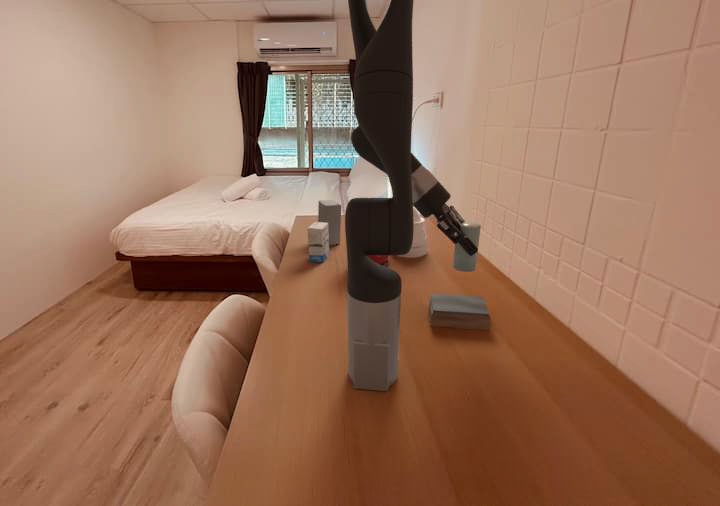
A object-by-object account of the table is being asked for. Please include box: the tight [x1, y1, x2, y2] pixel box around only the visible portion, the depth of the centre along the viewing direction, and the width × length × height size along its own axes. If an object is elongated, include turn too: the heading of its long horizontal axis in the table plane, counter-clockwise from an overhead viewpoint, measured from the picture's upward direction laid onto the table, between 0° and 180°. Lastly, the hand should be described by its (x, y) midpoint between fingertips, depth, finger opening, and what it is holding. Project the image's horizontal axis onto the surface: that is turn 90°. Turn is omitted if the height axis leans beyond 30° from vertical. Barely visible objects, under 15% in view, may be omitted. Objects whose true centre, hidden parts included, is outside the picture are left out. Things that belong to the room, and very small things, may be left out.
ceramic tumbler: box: [452, 221, 482, 273], centre depth 82 cm, size 5×5×10 cm
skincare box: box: [317, 199, 342, 247], centre depth 139 cm, size 8×7×16 cm
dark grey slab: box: [428, 293, 492, 331], centre depth 88 cm, size 9×13×4 cm
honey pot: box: [395, 206, 428, 259], centre depth 130 cm, size 13×13×18 cm
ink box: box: [307, 221, 330, 264], centre depth 124 cm, size 9×5×12 cm, turn 168°
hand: (475, 248), depth 82 cm, fingers closed on ceramic tumbler, 5 cm apart
